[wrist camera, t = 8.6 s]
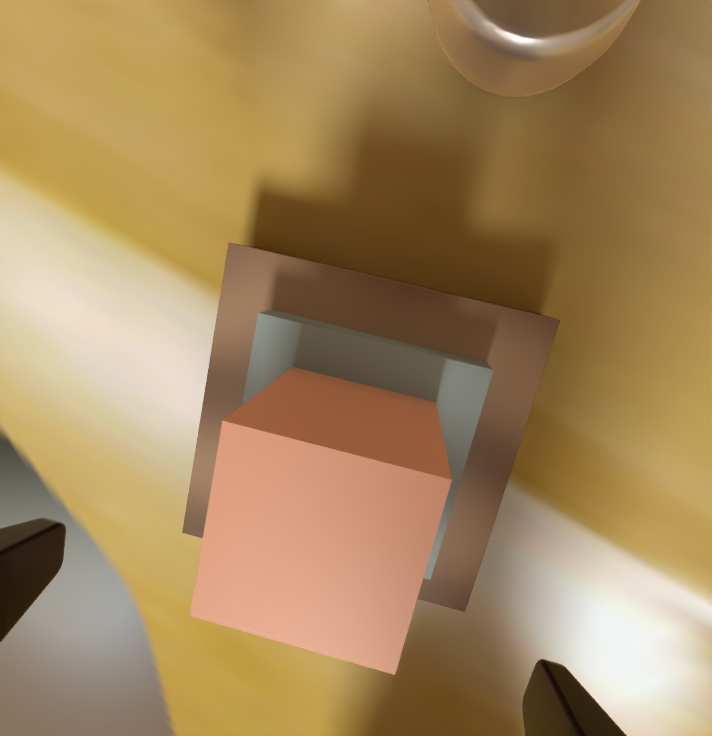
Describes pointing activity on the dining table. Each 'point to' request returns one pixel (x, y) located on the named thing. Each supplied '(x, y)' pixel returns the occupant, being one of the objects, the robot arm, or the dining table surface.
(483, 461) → the plinth
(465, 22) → the plastic bottle
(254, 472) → the terracotta brick
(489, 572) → the dining table surface
